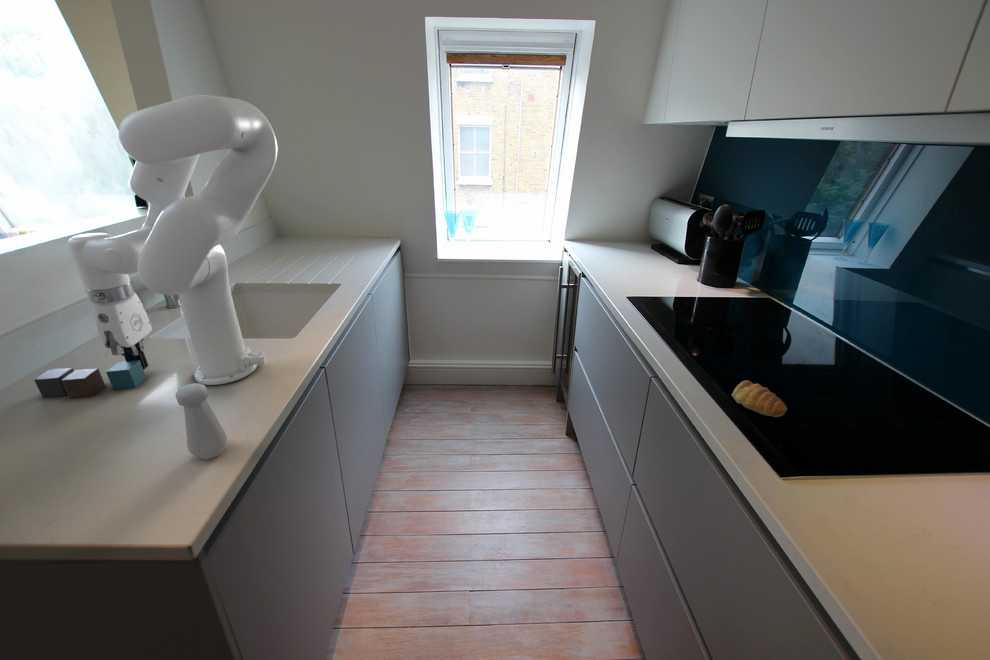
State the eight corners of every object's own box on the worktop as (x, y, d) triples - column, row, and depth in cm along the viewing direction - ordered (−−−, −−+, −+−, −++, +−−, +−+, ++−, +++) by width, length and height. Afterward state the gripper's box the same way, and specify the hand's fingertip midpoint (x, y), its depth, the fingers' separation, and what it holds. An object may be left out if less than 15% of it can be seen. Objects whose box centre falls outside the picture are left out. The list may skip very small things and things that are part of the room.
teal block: (146, 377, 100) (139, 360, 99) (135, 387, 97) (128, 369, 95) (124, 379, 100) (117, 362, 98) (113, 389, 96) (105, 371, 94)
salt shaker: (212, 465, 74) (189, 399, 68) (183, 461, 75) (158, 395, 69) (237, 443, 79) (218, 380, 74) (210, 439, 80) (189, 377, 75)
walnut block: (105, 385, 97) (98, 368, 96) (92, 396, 93) (84, 378, 92) (83, 387, 97) (75, 369, 95) (69, 398, 93) (60, 380, 91)
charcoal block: (80, 385, 98) (72, 367, 96) (66, 395, 94) (57, 377, 92) (58, 386, 97) (49, 369, 95) (42, 397, 93) (33, 379, 91)
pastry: (792, 412, 87) (797, 396, 85) (772, 423, 84) (777, 407, 82) (746, 390, 94) (750, 375, 92) (726, 400, 91) (730, 384, 89)
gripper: (108, 304, 88) (138, 384, 95) (150, 281, 101) (173, 352, 109) (66, 306, 87) (99, 386, 94) (113, 282, 100) (140, 354, 108)
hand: (139, 368), depth 102 cm, fingers closed
